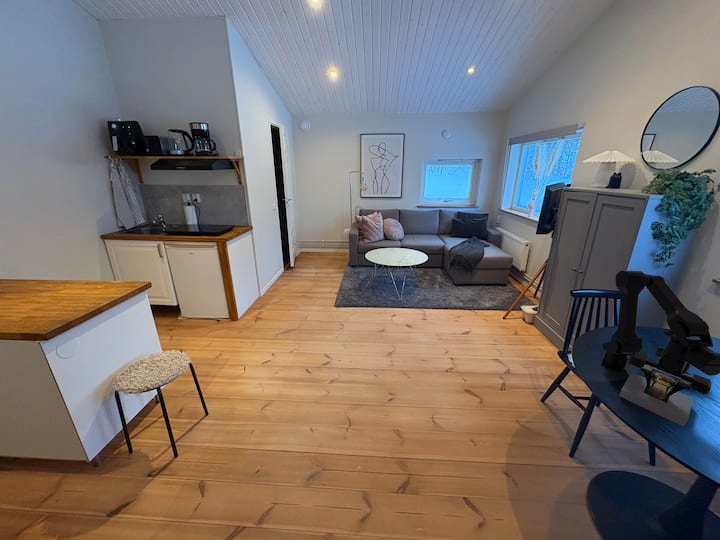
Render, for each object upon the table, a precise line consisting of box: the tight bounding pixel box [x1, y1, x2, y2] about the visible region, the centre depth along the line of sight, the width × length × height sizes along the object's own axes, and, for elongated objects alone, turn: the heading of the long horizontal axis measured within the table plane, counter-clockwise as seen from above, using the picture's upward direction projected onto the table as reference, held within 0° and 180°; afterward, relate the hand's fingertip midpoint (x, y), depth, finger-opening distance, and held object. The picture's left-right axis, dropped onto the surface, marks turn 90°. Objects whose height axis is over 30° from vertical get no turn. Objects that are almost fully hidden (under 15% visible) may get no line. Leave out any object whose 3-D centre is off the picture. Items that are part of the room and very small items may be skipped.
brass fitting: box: [647, 372, 676, 400], centre depth 98 cm, size 5×5×7 cm
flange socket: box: [618, 372, 694, 428], centre depth 100 cm, size 16×14×3 cm
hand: (657, 391), depth 99 cm, fingers closed on brass fitting, 5 cm apart
